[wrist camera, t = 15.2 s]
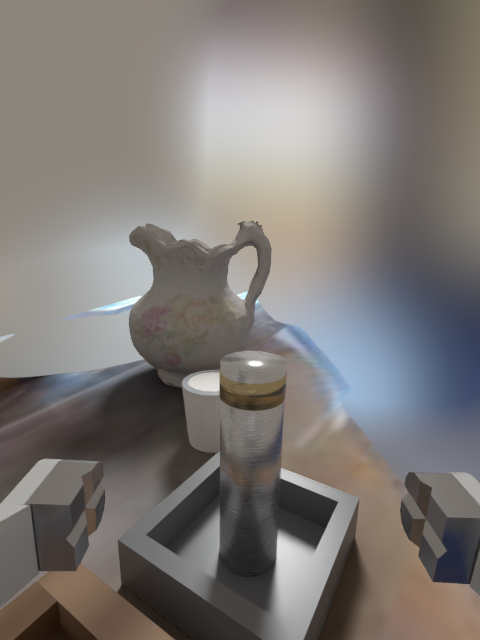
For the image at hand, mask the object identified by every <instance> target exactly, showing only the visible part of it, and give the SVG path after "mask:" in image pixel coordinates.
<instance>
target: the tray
mask: <svg viewBox="0 0 480 640" xmlns="http://www.w3.org/2000/svg"><path fill="white" fill-rule="evenodd" d="M358 506H359V498H358V497H355V496H352V495H350V494H347V493H345V492H342V491H340V490H337V489H334V488H332V487H329V486H327V485H324V484H322V483H319V482H316V481H314V480H311V479H309V478H306V477H304V476H301V475H298V474H296V473H293V472H291V471H288V470H286V469H283V468H281V477H280V497H279V517H278V537H277V555H276V560H275V562H274V564H273V566H272V567H271V568H270V569H269V570H268V571H267V572H265V573H264V574H262V575H259V576H255V577H243V576H239V575H236V574H234V573H233V572H231V571H230V570H228V569H227V568H226V566H225V565H224V564H223V562H222V560H221V557H220V451H219V452H218V453H217V454H216V455H214V456H213V457H212V458H211V459H210V460H209V461H208V462H206V463H205V464H204V465H203V466H202V467H201V468H200V469H198V470H197V471H196V472H195V473H194V474H193V475H192V476H190V477H189V478H188V479H187V480H186V481H185V482H183V483H182V484H181V485H180V486H179V487H178V488H177V489H175V490H174V491H173V492H172V493H171V494H170V495H169V496H167V497H166V498H165V499H164V500H163V501H162V502H161V503H159V504H158V505H157V506H156V507H155V508H154V509H153V510H151V511H150V512H149V513H148V514H147V515H146V516H144V517H143V518H142V519H141V520H140V521H139V522H138V523H136V524H135V525H134V526H133V527H132V528H131V529H130V530H128V531H127V532H126V533H125V534H124V535H123V536H122V537H120V538H119V539H118V547H119V559H120V571H121V583H122V585H124V586H125V587H126V588H128V589H129V590H130V591H131V592H133V593H134V594H135V595H136V596H138V597H139V598H140V599H142V600H143V601H144V602H145V603H147V604H148V605H149V606H151V607H152V608H153V609H154V610H156V611H157V612H158V613H159V614H161V615H162V616H163V617H165V618H166V619H167V620H168V621H170V622H171V623H172V624H174V625H175V626H176V627H177V628H179V629H180V630H181V631H182V632H184V633H185V634H186V635H188V636H189V637H190V638H191V639H193V640H319V637H320V634H321V631H322V628H323V626H324V623H325V620H326V617H327V614H328V612H329V609H330V606H331V603H332V600H333V598H334V595H335V592H336V589H337V586H338V584H339V581H340V578H341V575H342V572H343V570H344V567H345V564H346V561H347V558H348V556H349V553H350V550H351V547H352V544H353V542H354V539H355V533H356V524H357V515H358Z"/></svg>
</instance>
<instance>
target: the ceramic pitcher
mask: <svg viewBox="0 0 480 640" xmlns="http://www.w3.org/2000/svg"><path fill="white" fill-rule="evenodd" d="M238 225H240V230H239V232H238V234H237V236H236V238H235V240H234V241H233V242H232V243H231V244H229V245H228V244H224V245H219V246H217V247H214V248H211V247H209V246H208V245H206V244H204V243H203V242H202V241H199V240H196V239H193V240H179V241H177V240H176V239H175V238H174V236H173V235H172V234H171V233H170V231H168V230H165V229H161V228H159V227H157V226H154V225H152V224H146V226H139V227H137V228H136V229H135V230H134V231H132V232H131V234H130V236H129V238H130V243H131V245H133V246H135V247H137V248H139V249H141V250H142V251H143V252H145V254H147V256H148V257H149V260H150V261H151V264H152V266H153V275H154V280H153V285H152V287H151V289H150V290H149V291H148V292H147V293H146V294H145V295H144V296H143V297H141V298H140V299H139V300H138V301H137V302H136V303H135V304H134V305H133V307H132V309H131V312H130V316H129V328H130V334H131V339H132V342H133V345H134V347H135V348H136V350H137V351H138V352H139V354H140V355H141V356H142V357H143V358H144V359H145V360H146V361H147V362H148V363H149V364H150V365H152V366H153V367H155V368H158V369H157V371H158V376H159V378H160V379H161V381H162V382H163V383H165V384H166V385H170V386H173V387H179V388H182V381H183V379H184V378H185V377H187V376H188V375H190V374H193V373H196V372H199V371H207V370H220V360H221V359H222V357H224V356H225V355H228V354H231V353H234V352H241V351H243V350H244V349H245V347H246V345H247V343H248V340H249V337H250V331H251V326H252V324H253V323H254V311H255V302H256V300H257V298H258V297H259V295H260V294H261V292H262V290H263V287H264V285H265V282H266V280H267V277H268V275H269V272H270V266H271V246H270V243H269V240H268V238H267V237H266V236H265V235H264V232H263V229H262V228H261V226H262V225H258V222H256V223H254V222H253V221H251V222H245V221H243V222H241V223H238ZM245 246H254V247H255V248H256V250H257V256H258V268H257V270H256V273H255V275H254V277H253V279H252V282H251V284H250V287H249V291H248V294H247V296H246V298H245V300H242V299H241V298H239V297H238V296H237V295H236V294H234V293H233V291H231V289H230V287H229V285H228V282H227V274H228V264H229V260H230V258H231V257H232V256H233V255H235V254H237V252H238V251H239V250H240V249H242V248H244V247H245Z"/></svg>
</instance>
